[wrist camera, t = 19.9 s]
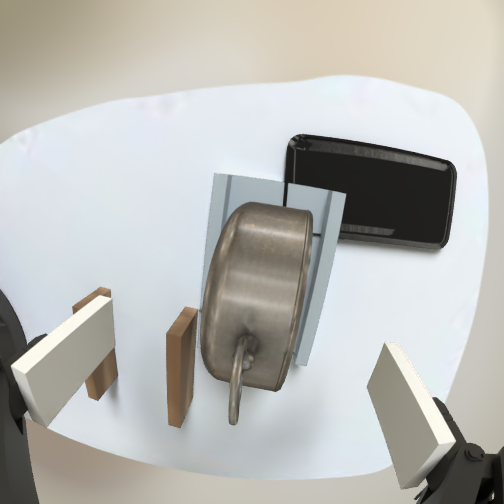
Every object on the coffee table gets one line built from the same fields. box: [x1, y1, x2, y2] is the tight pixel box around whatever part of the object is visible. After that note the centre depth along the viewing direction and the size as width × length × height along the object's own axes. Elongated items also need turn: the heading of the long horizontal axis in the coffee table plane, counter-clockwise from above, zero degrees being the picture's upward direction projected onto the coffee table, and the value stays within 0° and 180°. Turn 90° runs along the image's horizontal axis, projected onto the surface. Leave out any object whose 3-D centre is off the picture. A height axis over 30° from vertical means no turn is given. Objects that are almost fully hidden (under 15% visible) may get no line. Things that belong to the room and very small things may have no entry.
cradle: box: [197, 173, 346, 366], centre depth 24 cm, size 10×14×2 cm, turn 172°
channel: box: [72, 287, 198, 428], centre depth 26 cm, size 10×11×5 cm
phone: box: [283, 134, 457, 249], centre depth 22 cm, size 8×1×15 cm
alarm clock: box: [199, 202, 313, 425], centre depth 16 cm, size 11×5×16 cm, turn 171°
